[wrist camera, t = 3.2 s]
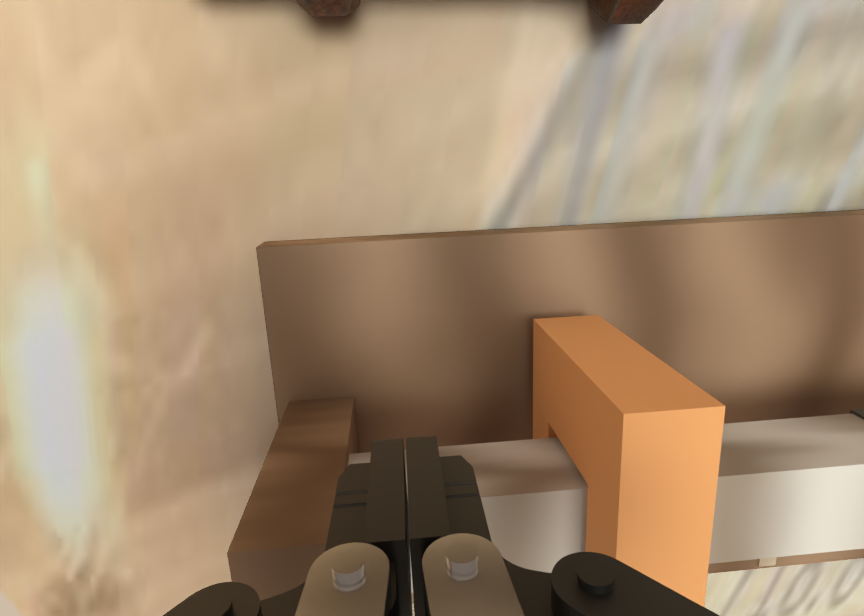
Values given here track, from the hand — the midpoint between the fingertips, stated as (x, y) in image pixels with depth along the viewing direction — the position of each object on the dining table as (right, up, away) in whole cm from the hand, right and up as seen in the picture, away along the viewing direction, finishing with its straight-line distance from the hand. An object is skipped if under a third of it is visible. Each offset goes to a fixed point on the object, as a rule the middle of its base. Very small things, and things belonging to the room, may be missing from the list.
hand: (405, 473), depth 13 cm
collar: (+6, -1, +9) cm, 10 cm away
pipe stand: (+8, 0, +11) cm, 14 cm away
